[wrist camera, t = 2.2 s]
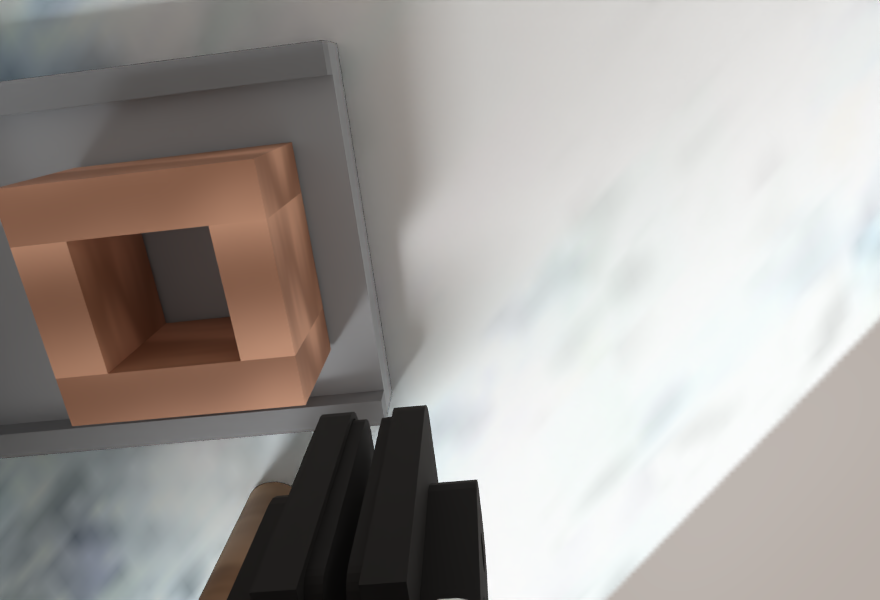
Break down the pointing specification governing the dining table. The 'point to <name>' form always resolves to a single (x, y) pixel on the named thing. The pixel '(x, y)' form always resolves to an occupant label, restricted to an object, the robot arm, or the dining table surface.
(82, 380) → the block
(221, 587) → the dowel
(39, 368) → the grey open tray
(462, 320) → the dining table surface
